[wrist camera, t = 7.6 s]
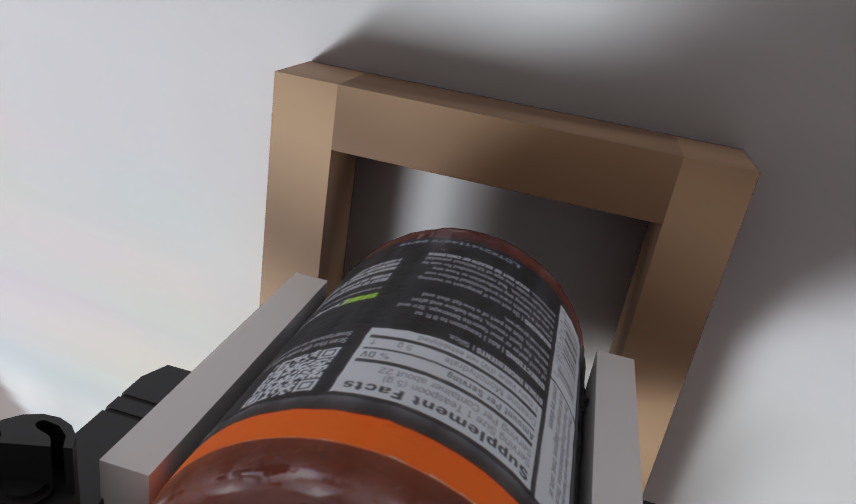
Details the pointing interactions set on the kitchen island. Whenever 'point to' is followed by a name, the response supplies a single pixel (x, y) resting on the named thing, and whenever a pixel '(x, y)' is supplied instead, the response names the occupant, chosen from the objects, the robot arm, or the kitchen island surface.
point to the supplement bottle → (411, 390)
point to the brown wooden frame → (522, 172)
